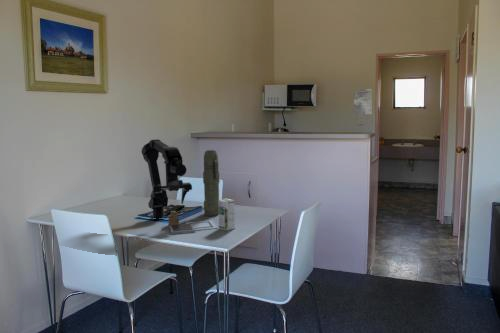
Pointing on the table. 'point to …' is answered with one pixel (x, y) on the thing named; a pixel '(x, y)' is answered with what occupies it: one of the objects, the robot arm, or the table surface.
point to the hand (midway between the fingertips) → (172, 204)
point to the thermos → (211, 183)
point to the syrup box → (226, 214)
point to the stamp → (173, 218)
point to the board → (203, 225)
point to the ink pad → (181, 228)
